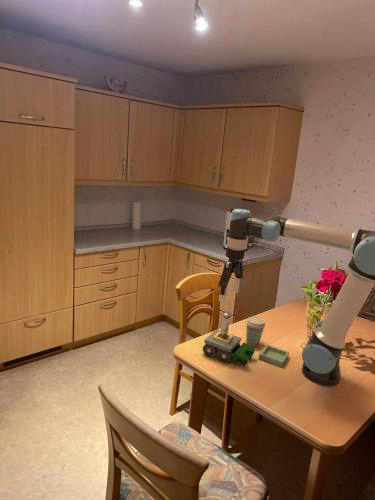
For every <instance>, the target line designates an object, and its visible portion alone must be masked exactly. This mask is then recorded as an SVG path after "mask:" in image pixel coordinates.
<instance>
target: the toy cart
mask: <svg viewBox="0 0 375 500" xmlns="http://www.w3.org/2000/svg"><path fill="white" fill-rule="evenodd" d="M220 331H221V329H215V330H214V331H213V332H212V333H210V334H209V335H208V336H207V337H206V338H204V341H203V343H204V345H203V346H202V352H203V354H204V355H205V356H206V357H208V358H213V357H215V356H216V355H217V358H218V360H219V361H220V362H222V363H223V364H228V363H229V362H230V361H231V359H232V357H233V355H234V353H235V352H236V351H237V349H238V348H239V347H240V346H241V344H240V343H241V341H242V337H240V336H237V335H234V334H231V333H229V332H228V335H227V340H225V339H222V338H220Z"/></svg>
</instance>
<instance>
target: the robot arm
mask: <svg viewBox="0 0 375 500" xmlns="http://www.w3.org/2000/svg"><path fill="white" fill-rule="evenodd" d="M248 237H251V238H254V239H259V240H264V241H266V242H269V241H270V242H275V241H277V240H278V239H279V237H283V238H289V239H294V240H297V241H298V240H299V241H304V242H308V243H311V244H317V245H322V246H325V247H330V248H331V247H332V248H335V249H341V250H345V251H349V252H350V253H351V254H352V256H351V258H350V261H349V263H348V264H347V267H348V270H349V272H348V275H347V277H346V279H345V281H344V283H343V284H342V286H341V287H340V290H339V292H338V293H337V295H336V297H335V299H334V301H333V303H332V305H331V307H330V309H329V311H328V313H327V315H326V317H325V319H324V320H318V321H316V324H315V325H314V329H313V331H312V334H311V336H309V337H310V338H309V340H308V341H307V343H306V345H305V346H304V348H303V350H302V352H301V357H302V359H301V360H302V361H303V364H302V367H301V373H302V374H303V376H304V377H306V378H307V380H309V381H311V382H313V383H315V384H317V385H321V386H326V387H332V386H336V385H339V383H340V381H341V376H342V375H341V366H340V360H341V358H342V357H341V356H342V354H343V351H344V349H345V348H346V346H347V345H346V342H345V339H346V337H347V335H348V332H350V329H351V327H352V326H353V324H354V321H355V320H356V318H357V317H358V314H359V313H360V310H362V307H363V306H364V303H366V300H367V298H368V297H369V295H370V293H371V291H372V290H373V287H374V286H375V230H367V229H362V228H357V229H356V230H352V229H345V228H340V227H336V226H329V225H326V224H321V223H320V224H319V223H314V222H308V221H304V220H297V219H293V218H286V217H284V216H282V215H281V214H280V215H279V214H277V215H276V214H275V215H271V216H269V217H266V218H260V217H254V216H252V212H251V211H250V210H249V209H244V208H243V209H242V208H234V209H233V210H232V211H231V215H230V219H229V227H228V237H227V238H226V241H227V243H226V244H227V245H226V250H225V256H226V258H228V260H227V261H225V262H224V265H223V270H222V273H221V276H220V279H219V282H218V285H217V286H218V287H220V288H219V296H218V302H221V303H226V301H227V294H228V288H229V287H228V285H229V283H230V280H231V277H232V275H233V274H234V277H233V281H232V287H231V292H232V293H235V294H239V289H240V283H241V279H243V278H244V269H243V268H244V267H243V266H244V263H243V262H244V258H245V254H246V250H245V249H246V248H247V241H248Z"/></svg>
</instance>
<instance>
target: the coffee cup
mask: <svg viewBox="0 0 375 500" xmlns="http://www.w3.org/2000/svg"><path fill="white" fill-rule="evenodd" d="M265 327H266V323H265V320H264V319H263V318H260V317H258V316H250V317H248V319H247V320H246V333H245V334H246V335H245V336H246V337H245V338H246V339H245V343H246V344H248V345H249V346H251V347H253V348H255V347H256V348H257V347H259V345H260V342H261V339H262V335H263V332H264V328H265Z"/></svg>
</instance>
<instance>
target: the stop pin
mask: <svg viewBox="0 0 375 500" xmlns="http://www.w3.org/2000/svg"><path fill="white" fill-rule="evenodd" d="M232 315H233V314H232V312H230V311H227V310H224V311H221V316H222V318H221V323H220V324H221V325H220V326H221V327H220V338H222V339H225V340H227V335H228V333H229V328H230V319H231V317H232Z"/></svg>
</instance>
